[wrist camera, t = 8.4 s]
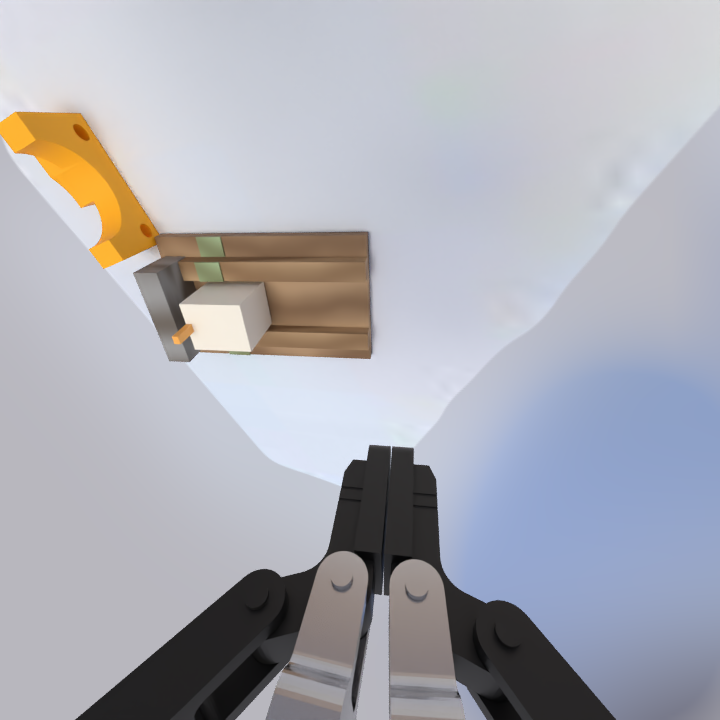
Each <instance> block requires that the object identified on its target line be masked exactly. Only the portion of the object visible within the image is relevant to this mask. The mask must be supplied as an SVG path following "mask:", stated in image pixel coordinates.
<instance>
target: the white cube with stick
mask: <svg viewBox="0 0 720 720" xmlns="http://www.w3.org/2000/svg"><path fill="white" fill-rule="evenodd" d="M179 306H180V309H181V312H182V314H183V317H184V320H185V323H186V325H184V326H183V327H182V328H181V329H180V330H179V331H178V332H176V333H175V334H174V335H173V336H172V339H173V341H174V344H182V343H183V342H184V341H185V340H186V339H187V338H188V337H189V336H190V337H191V340H192V342H193V345H194V348H195V350H218V351H244V352H252V350H253V349H254V347H255V346H256V345H257V343H258V342H259V340H260V339H261V338H262V336H263V335H264V334H265V332H266V331H267V329H268V328H269V327H270V325H271V324H272V321H271V316H270V311H269V306H268V301H267V297H266V292H265V287H264V282H252V281H224V282H207V283H206V284H205V285H203V286H202V287H201V288H199V289H198V290H197V291H195V292H194V293H193V294H192V295H190V296H189V297H188V298H186V299H185V300H184V301H182V302H181V303H180V304H179Z"/></svg>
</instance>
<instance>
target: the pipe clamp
mask: <svg viewBox="0 0 720 720" xmlns="http://www.w3.org/2000/svg"><path fill="white" fill-rule="evenodd" d="M0 134H1V136H2V137H3V138H4V140H5V141H6V142H7V143H8V145H9V146H10V147H11V149H12V150H13V151H14V153H22V154H29V155H33V156H35V157H36V159H37V160H38V161H39V163H40V164H41V165H42V167H43V168H44V169H45V171H46V172H47V173H48V175H49V176H50V177H51V178H52V179H53V180H55V181H56V182H57V183H59V184H60V185H61V186H62V187H63V188H65V189H66V190H67V191H68V192H69V193H70V194H71V196H72V197H73V198H74V199H75V200H76V202H77V203H78V204H79V206H80V207H81V208H82V207H86V206H90V205H94V204H95V205H96V207H97V209H98V211H99V214H100V217H101V221H102V235H101V238H100V240H99V242H98V243H97V244H96V245H95V246H94V247H92V248H90V249H89V250H90V252H91V253H92V254H93V256H94V257H95V258H96V260H97V261H98V262H99V263H100V265H101V266H102V267H103V269H104V268H107V267H109V266H111V265H114V264H116V263H118V262H120V261H123V260H125V259H127V258H129V257H131V256H133V255H135V254H138V253H140V252H142V251H144V250H146V249H148V248H150V247H152V246H155V245H157V244H156V241H155V238H154V237H155V236H158V235H159V233H158V232H157V230H156V229H155V227H154V225H153V224H152V222H151V221H150V219H149V218H148V216H147V215H146V213H145V212H144V210H143V209H142V207H141V205H140V204H139V202H138V201H137V199H136V198H135V196H134V195H133V193H132V192H131V190H130V189H129V187H128V185H127V184H126V182H125V181H124V179H123V178H122V176H121V175H120V173H119V172H118V170H117V169H116V167H115V166H114V164H113V162H112V161H111V159H110V158H109V156H108V155H107V153H106V152H105V150H104V149H103V147H102V146H101V144H100V142H99V141H98V139H97V138H96V136H95V135H94V133H93V132H92V130H91V129H90V127H89V126H88V124H87V122H86V121H85V119H84V118H83V116H82V115H81V113H42V112H14V113H13V114H11V115H10V116H9V117H7V118H6V119H4V120H3V121H2V122H0Z"/></svg>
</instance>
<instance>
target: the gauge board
mask: <svg viewBox="0 0 720 720" xmlns="http://www.w3.org/2000/svg"><path fill="white" fill-rule="evenodd" d="M154 238H155V241H156V244H157V247H158V249H159V252H160V255H161V258H160V259H159V260H157V261H155V262H153V263H151V264H149V265H147V266H145V267H143V268H142V269H140V270H138V271H136V272H134V273H133V274H134V277H135V279H136V281H137V284H138V286H139V289H140V291H141V293H142V296H143V298H144V301H145V303H146V306H147V308H148V310H149V313H150V315H151V318H152V320H153V322H154V325H155V327H156V330H157V332H158V335H159V337H160V339H161V341H162V344H163V347H164V349H165V351H166V354H167V356H168V359H169V361H181V362H190V361H191V360H192V359H193V358H194V357H195V356H196V355H197V354H198V353H199V352H210V353H230V354H237V355H250V354H260V355H285V356H311V357H336V358H361V359H370V358H371V319H370V285H369V250H368V232H317V233H211V234H160V235H158V236H155V237H154ZM224 281H252V282H264V287H265V292H266V297H267V301H268V306H269V311H270V316H271V321H272V324H271V325H270V327H269V328H268V329H267V331H266V332H265V334H264V335H263V336H262V338H261V339H260V340H259V342H258V343H257V345H256V346H255V347H254V349H253V350H252V352H244V351H218V350H195V348H194V345H193V342H192V340H191V337H190V336H189V337H188V338H187V339H186V340H185V341H184V342H183V343H182V344H174V341H173V339H172V336H173V335H174V334H175V333H176V332H178V331H179V330H180V329H181V328H182V327H183V326H184V325H186V323H185V320H184V317H183V314H182V312H181V309H180V306H179V304H180V303H181V302H182V301H184V300H185V299H186V298H188V297H189V296H190V295H192V294H193V293H194V292H195V291H197V290H198V289H199V288H201V287H202V286H203V285H205V284H206V283H207V282H224Z"/></svg>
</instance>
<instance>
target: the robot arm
mask: <svg viewBox="0 0 720 720" xmlns="http://www.w3.org/2000/svg"><path fill="white" fill-rule="evenodd" d="M413 456H414V448H407V447H394V446H392V457H391V446H379V445H370V446H369V450H368V457H367V461H364V460H353V461H352V462H351V463H350V465H349V466H348V468H347V469H346V470H345V472H344V477H343V482H342V488H341V491H340V497H339V501H338V506H337V511H336V515H335V521H334V525H333V530H332V535H331V540H330V544H329V548H328V550H327V553H326V555H325V556H324V558H323V559H322V560H321V561H320V562H319V563H318V564H317V565H316V566H315V567H313V568H312V569H309V570H307V571H305V572H301V573H297V574H293V575H289V576H285V577H280V576H279V575H278V574H277V573H276V572H274V571H272V570H268V569H260V570H256V571H253V572H251V573H250V574H248V575H247V576H245V577H244V578H243V579H242V580H241V581H239V582H238V583H237V584H236V585H234V586H233V587H232V588H231V589H230V590H229V591H227V592H226V593H225V594H224V595H223V596H221V597H220V598H219V599H218V600H217V601H216V602H214V603H213V604H212V605H211V606H210V607H208V608H207V609H206V610H205V611H204V612H202V613H201V614H200V615H199V616H198V617H197V618H195V619H194V620H193V621H192V622H191V623H189V624H188V625H187V626H186V627H185V628H183V629H182V630H181V631H180V632H179V633H178V634H176V635H175V636H174V637H173V638H172V639H171V640H169V641H168V642H167V643H166V644H164V645H163V646H162V647H161V648H160V649H159V650H157V651H156V652H155V653H154V654H153V655H151V656H150V657H149V658H148V659H147V660H146V661H144V662H143V663H142V664H141V665H140V666H138V667H137V668H136V669H135V670H134V671H132V672H131V673H130V674H129V675H128V676H127V677H125V678H124V679H123V680H122V681H121V682H120V683H118V684H117V685H116V686H115V687H114V688H112V689H111V690H110V691H109V692H108V693H106V694H105V695H104V696H103V697H102V698H100V699H99V700H98V701H97V702H96V703H95V704H93V705H92V706H91V707H90V708H89V709H88V710H86V711H85V712H84V713H83V714H81V715H80V716H79V717H78V718H77V719H76V720H235V719H236V718H237V717H238V716H239V715H240V714H241V713H242V712H243V711H244V710H245V708H246V707H247V706H248V705H249V704H250V703H251V702H252V701H253V700H254V699H255V698H256V696H257V695H259V693H260V692H261V691H262V690H263V689H264V688H265V687H266V686H267V685H268V684H269V683H270V682H271V680H272V679H273V678H274V677H275V676H276V675H277V674H278V673H279V672H280V671H281V670H282V669H283V668H284V666H285V665H286V664H287V663H288V662H289V661H290V662H289V663H288V665H287V666H286V667H285V668H284V670H283V671H282V673H281V675H280V677H279V680H278V682H277V685H276V688H275V691H274V694H273V697H272V701H271V704H270V707H269V710H268V713H267V717H266V720H356V714H357V707H358V700H359V693H360V688H361V681H362V675H363V669H364V662H365V655H366V650H367V644H368V637H369V630H370V625H371V622H372V615H373V604H374V594H379V595H381V594H382V584H383V572H384V595H389V720H465V715H464V709H463V704H462V700H461V698H460V695H459V693H458V689H457V685H456V680H457V681H458V682H460V683H462V684H463V685H465V686H466V687H467V689H468V690H469V692H470V694H471V695H472V697H473V698H474V700H475V701H476V703H477V705H478V706H479V708H480V709H481V711H482V713H483V714H484V715H485V717H486V719H487V720H616V719H615V718H614V717H613V716H612V714H611V713H610V712H609V711H608V710H607V709H606V707H605V706H604V705H603V704H602V703H601V701H600V700H599V699H598V698H597V697H596V696H595V694H594V693H593V692H592V691H591V690H590V689H589V687H588V686H587V685H586V684H585V683H584V682H583V681H582V679H581V678H580V677H579V676H578V675H577V673H576V672H575V671H574V670H573V669H572V668H571V667H570V665H569V664H568V663H567V662H566V660H565V659H564V658H563V657H562V656H561V655H560V653H559V652H558V651H557V650H556V649H555V648H554V647H553V645H552V644H551V643H550V642H549V641H548V639H547V638H546V637H545V636H544V635H543V634H542V632H541V631H540V630H539V629H538V628H537V627H536V625H535V624H534V623H533V622H532V621H531V620H530V618H529V617H528V616H527V615H526V614H525V613H524V612H523V611H522V610H521V609H519V608H518V607H517V606H515V605H513V604H511V603H509V602H505V601H500V600H496V601H491V602H488V603H487V604H486V603H484V602H483V601H480V600H478V599H476V598H474V597H472V596H470V595H468V594H466V593H464V592H463V591H461V590H459V589H458V588H457V587H455V586H454V585H453V584H452V583H451V581H450V580H449V579H448V578H447V576H446V575H445V573H444V571H443V568H442V565H441V561H440V547H439V527H438V510H437V488H436V478H435V476H434V475H433V473H432V471H431V469H430V467H429V466H427V465H426V466H425V465H414V464H413V458H414V457H413ZM390 466H391V470H390Z"/></svg>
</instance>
